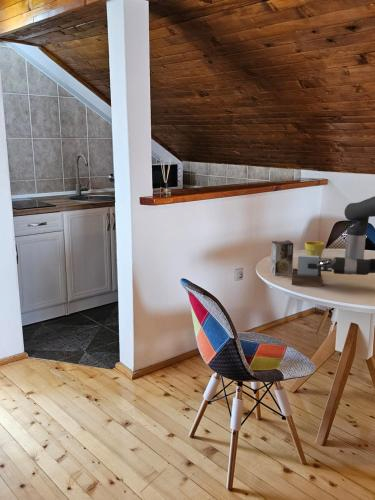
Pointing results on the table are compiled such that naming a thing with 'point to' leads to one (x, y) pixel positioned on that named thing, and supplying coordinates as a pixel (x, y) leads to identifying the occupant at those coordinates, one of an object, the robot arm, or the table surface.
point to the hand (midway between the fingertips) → (307, 263)
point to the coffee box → (282, 258)
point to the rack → (306, 279)
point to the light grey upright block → (303, 265)
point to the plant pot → (314, 248)
